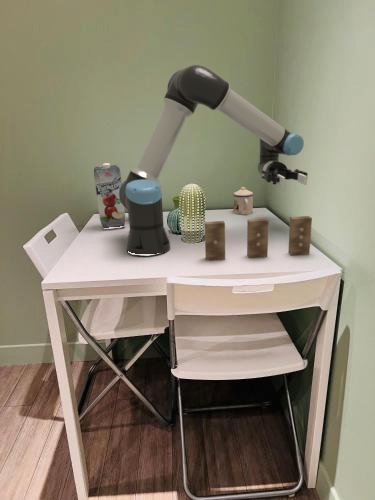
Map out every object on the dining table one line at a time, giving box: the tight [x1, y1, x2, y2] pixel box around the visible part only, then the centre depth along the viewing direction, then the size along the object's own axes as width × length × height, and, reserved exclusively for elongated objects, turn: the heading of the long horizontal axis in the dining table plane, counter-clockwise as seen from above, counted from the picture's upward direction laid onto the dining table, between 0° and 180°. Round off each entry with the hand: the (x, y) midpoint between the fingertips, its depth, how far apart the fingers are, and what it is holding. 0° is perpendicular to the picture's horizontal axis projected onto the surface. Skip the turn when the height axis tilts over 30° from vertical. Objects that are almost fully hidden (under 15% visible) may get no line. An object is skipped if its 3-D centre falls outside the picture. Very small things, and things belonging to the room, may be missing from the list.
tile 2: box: [246, 218, 269, 259], centre depth 116 cm, size 6×3×12 cm, turn 93°
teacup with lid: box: [232, 186, 254, 215], centre depth 169 cm, size 12×9×12 cm
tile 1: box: [204, 220, 226, 261], centre depth 116 cm, size 6×3×12 cm, turn 93°
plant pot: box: [171, 195, 180, 210], centre depth 170 cm, size 9×9×9 cm
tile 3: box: [288, 215, 313, 256], centre depth 117 cm, size 6×3×12 cm, turn 93°
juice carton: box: [93, 162, 126, 229], centre depth 154 cm, size 9×10×27 cm
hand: (294, 181), depth 119 cm, fingers open, 6 cm apart
